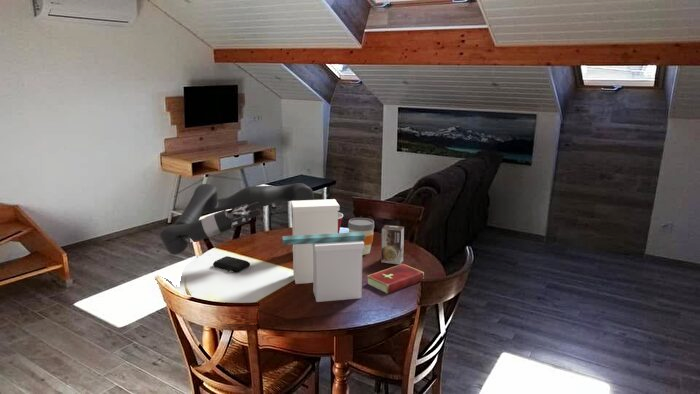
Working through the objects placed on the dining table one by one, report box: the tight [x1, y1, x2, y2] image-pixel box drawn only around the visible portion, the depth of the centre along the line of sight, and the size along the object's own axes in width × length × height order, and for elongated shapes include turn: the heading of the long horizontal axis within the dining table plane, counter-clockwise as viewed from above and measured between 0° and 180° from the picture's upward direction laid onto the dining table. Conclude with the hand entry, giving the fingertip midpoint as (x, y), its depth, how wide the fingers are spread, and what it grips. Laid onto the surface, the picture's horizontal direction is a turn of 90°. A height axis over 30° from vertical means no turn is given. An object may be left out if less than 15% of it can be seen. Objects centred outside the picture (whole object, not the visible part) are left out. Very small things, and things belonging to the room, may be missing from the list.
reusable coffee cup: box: [347, 217, 375, 256], centre depth 223 cm, size 12×13×15 cm
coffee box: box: [380, 224, 405, 265], centre depth 211 cm, size 9×6×16 cm
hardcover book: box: [366, 263, 425, 295], centre depth 191 cm, size 12×21×4 cm, turn 130°
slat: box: [281, 232, 365, 246], centre depth 173 cm, size 30×4×2 cm, turn 102°
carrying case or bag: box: [212, 255, 251, 274], centre depth 204 cm, size 11×3×15 cm
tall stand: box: [290, 198, 341, 285], centre depth 190 cm, size 18×10×32 cm, turn 102°
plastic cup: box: [338, 211, 344, 233], centre depth 244 cm, size 11×11×12 cm
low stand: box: [312, 241, 364, 303], centre depth 177 cm, size 18×10×22 cm, turn 102°
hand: (259, 207), depth 173 cm, fingers open, 8 cm apart
